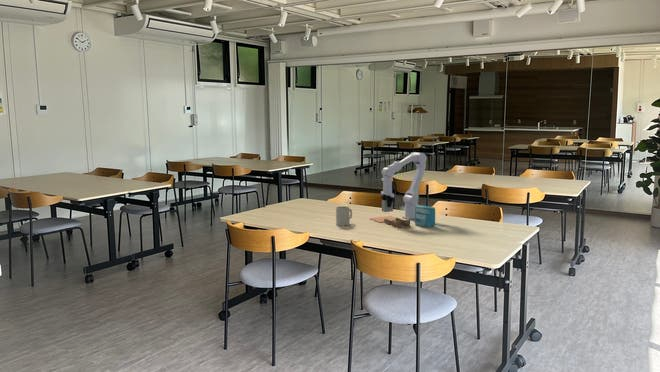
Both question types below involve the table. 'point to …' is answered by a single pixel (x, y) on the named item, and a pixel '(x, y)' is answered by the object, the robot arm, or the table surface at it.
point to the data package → (425, 216)
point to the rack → (398, 222)
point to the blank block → (385, 207)
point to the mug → (343, 215)
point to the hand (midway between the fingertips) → (387, 206)
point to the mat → (381, 219)
